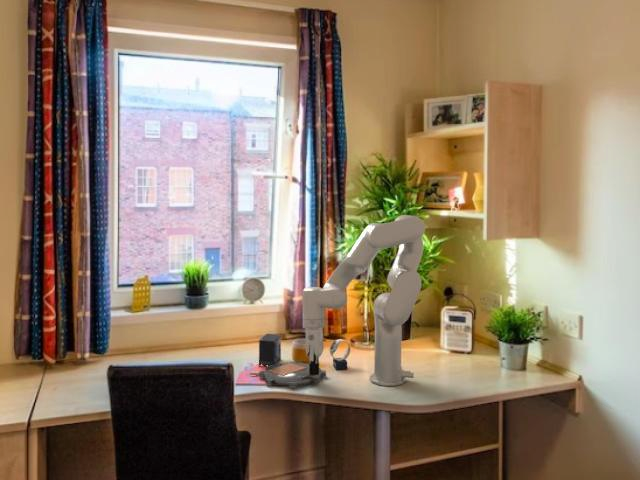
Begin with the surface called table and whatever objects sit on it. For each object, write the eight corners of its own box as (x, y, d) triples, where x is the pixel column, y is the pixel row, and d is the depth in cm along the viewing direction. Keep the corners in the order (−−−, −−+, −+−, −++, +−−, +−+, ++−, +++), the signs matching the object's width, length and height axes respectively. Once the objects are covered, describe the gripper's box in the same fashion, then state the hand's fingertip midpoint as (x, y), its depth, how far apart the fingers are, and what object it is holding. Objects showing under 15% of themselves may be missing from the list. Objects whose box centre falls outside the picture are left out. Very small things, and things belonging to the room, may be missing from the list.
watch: (328, 366, 216) (328, 338, 215) (348, 365, 217) (348, 337, 217) (331, 370, 210) (331, 342, 210) (351, 369, 212) (352, 341, 211)
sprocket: (323, 366, 215) (323, 348, 214) (328, 387, 191) (328, 367, 190) (261, 366, 213) (261, 348, 213) (257, 388, 189) (257, 368, 189)
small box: (274, 367, 214) (274, 340, 213) (258, 366, 216) (258, 339, 215) (281, 359, 225) (281, 334, 224) (266, 358, 226) (266, 333, 225)
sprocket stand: (309, 374, 206) (309, 371, 206) (303, 383, 196) (303, 380, 196) (254, 370, 210) (254, 367, 210) (246, 379, 200) (246, 376, 200)
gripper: (320, 328, 186) (321, 381, 187) (327, 318, 200) (327, 367, 202) (298, 327, 187) (299, 380, 188) (306, 317, 202) (307, 367, 203)
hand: (314, 373), depth 195 cm, fingers closed
